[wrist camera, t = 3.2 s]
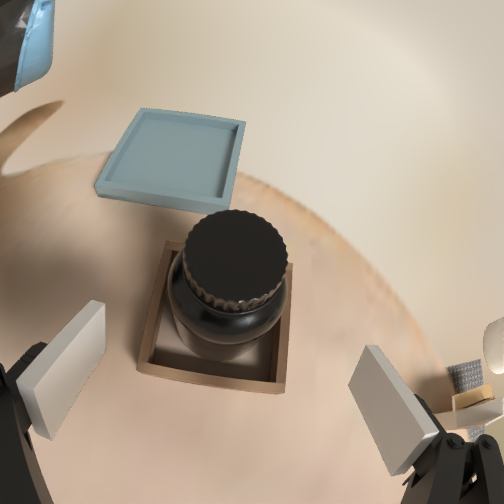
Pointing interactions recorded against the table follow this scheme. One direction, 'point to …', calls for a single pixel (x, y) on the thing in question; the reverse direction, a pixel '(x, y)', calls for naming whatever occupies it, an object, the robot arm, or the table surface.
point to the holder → (146, 367)
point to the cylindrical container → (494, 346)
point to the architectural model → (470, 401)
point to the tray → (175, 161)
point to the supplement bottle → (228, 284)
